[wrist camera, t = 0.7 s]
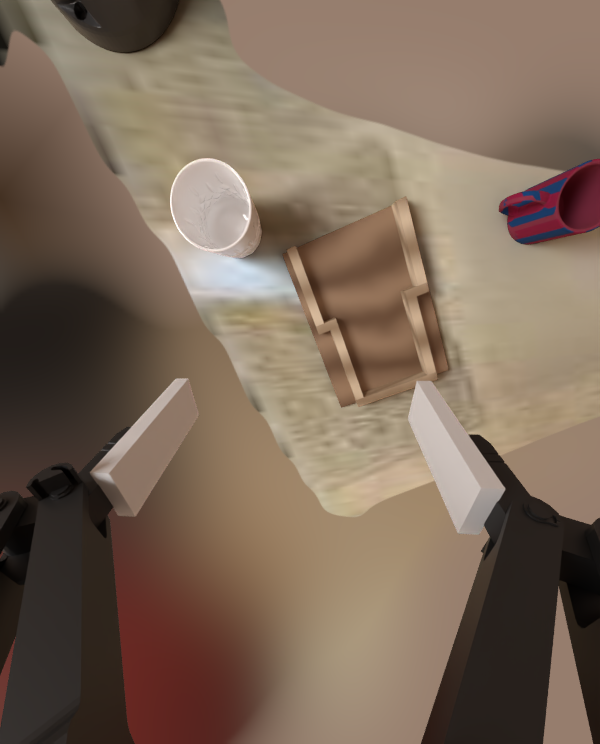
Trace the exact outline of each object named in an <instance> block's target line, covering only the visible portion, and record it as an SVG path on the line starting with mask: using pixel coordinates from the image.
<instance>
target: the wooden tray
mask: <svg viewBox="0 0 600 744" xmlns="http://www.w3.org/2000/svg"><path fill="white" fill-rule="evenodd" d="M282 255H283V258H284V260H285V263H286V266H287V268H288V271H289V273H290V276H291V279H292V281H293V284H294V286H295V289H296V292H297V294H298V297H299V299H300V302H301V305H302V307H303V310H304V312H305V315H306V317H307V320H308V323H309V325H310V328H311V330H312V333H313V336H314V338H315V341H316V343H317V346H318V349H319V351H320V354H321V356H322V359H323V362H324V364H325V367H326V369H327V372H328V374H329V377H330V380H331V382H332V385H333V387H334V390H335V393H336V395H337V398H338V400H339V403H340V406H341V407H344V406H347V405H350V404H353V403H355V402H356V403H357V405H358V407H360V406H363V405H366V404H369V403H372V402H375V401H377V400H380V399H383V398H386V397H389V396H392V395H395V394H398V393H400V392H403V391H406V390H409V389H412V388H415V386H416V382H417V381H435V380H438V377H437V374H438V373H441V372H444V371H447V370H449V369H448V365H447V361H446V357H445V353H444V348H443V344H442V340H441V336H440V332H439V328H438V324H437V320H436V316H435V312H434V307H433V303H432V299H431V295H430V291H429V287H428V283H427V279H426V275H425V271H424V266H423V262H422V258H421V254H420V250H419V246H418V242H417V238H416V234H415V230H414V225H413V221H412V217H411V213H410V209H409V205H408V201H407V198H406V197H404V198H401V199H399V200H397V201H396V202H395V203H394V204H393V205H392V206H390V207H387V208H385V209H383V210H381V211H378V212H376V213H374V214H372V215H369V216H367V217H365V218H363V219H360V220H358V221H356V222H354V223H351V224H349V225H347V226H345V227H342V228H340V229H338V230H336V231H333V232H331V233H329V234H326V235H324V236H322V237H320V238H317V239H315V240H313V241H311V242H308V243H306V244H304V245H302V246H299V247H297V248H296V246H294V247H291V248H289V249H287V252H286V253H284V254H282Z"/></svg>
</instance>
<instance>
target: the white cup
mask: <svg viewBox="0 0 600 744" xmlns="http://www.w3.org/2000/svg"><path fill="white" fill-rule="evenodd" d="M170 206H171V212H172V216H173V219H174V222H175V224H176V226H177V228H178V229H179V231H180V233H181V234H182V235H183V236H184V237H185V239H186V240H188V241H189V242H190V243H191V244H193V245H194V246H196V247H198V248H200V249H202V250H205V251H209V252H212V253H215V254H219V255H222V256H227V257H233V258H244V257H246V256H248V255H250V254H252V253H253V252H254V251H255V249H256V248H257V247H258V245H259V244H260V240H261V235H262V229H261V224H260V219H259V216H258V213H257V210H256V207H255V205H254V202H253V200H252V198H251V196H250V193H249V191H248V188H247V186H246V184H245V182H244V181H243V179H242V178H241V176H240V175H239V174H238V173H237V172H236V171H235V170H234V169H233V168H232V167H231V166H229V165H228V164H226V163H224V162H222V161H219V160H216V159H211V158H203V159H198V160H195V161H193V162H191V163H189V164H187V165H186V166H185V167H184V168H183V169H182V170H181V171H180V172H179V173H178V175H177V176H176V178H175V180H174V183H173V185H172V189H171V195H170Z"/></svg>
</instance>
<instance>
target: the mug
mask: <svg viewBox="0 0 600 744" xmlns="http://www.w3.org/2000/svg"><path fill="white" fill-rule="evenodd" d="M499 212H501V213H502V214H505V215H508V220H507V225H508V230H509V233H510V235H511V237H512V238H513V239H514V240H515V241H517V242H519V243H521V244H535V243H539V242H544V241H548V240H553V239H558V238H562V237H567V236H571V235H576V234H581V233H585V232H589V231H592V230H594V229H596V228H598V227H599V226H600V159H594V160H590V161H587V162H585V163H583V164H581V165H578V166H577V167H574V168H572V169H570V170H568V171H566V172H563V173H561V174H559V175H557V176H555V177H553V178H551V179H548V180H546V181H544V182H542V183H540V184H538V185H536V186H533V187H531V188H529V189H527V190H526V191H524V192H520V193H517V194H514V195H511V196H509V197H507V198H505V199H504V200H502V202H501V203H500V205H499Z"/></svg>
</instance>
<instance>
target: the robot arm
mask: <svg viewBox="0 0 600 744" xmlns="http://www.w3.org/2000/svg"><path fill="white" fill-rule="evenodd" d="M51 1H52V2H53V4H54V5H55V6H56V7H57V8H58V9H59V11H60V12H61V13H62V14H63V15H64V16H65V18H66V19H67V20H68V21H69V22H70V23H71V24H72V26H73V27H74V28H75V29H76V30H77V31H78V32H79V33H81V34H82V35H83V36H84V37H85V38H87V39H88V40H90V41H91V42H93V43H94V44H96V45H98V46H100V47H102V48H105V49H108V50H111V51H116V52H132V51H136V50H140V49H142V48H145V47H147V46H148V45H150V44H151V43H153V42H154V41H155V40H157V39H158V38H159V37H160V36H161V35H162V33H163V32H164V31H165V30H166V28H167V27H168V25H169V24H170V22H171V20H172V18H173V16H174V14H175V11H176V8H177V5H178V2H179V0H51ZM198 416H199V413H198V409H197V406H196V403H195V400H194V397H193V393H192V389H191V386H190V383H189V380H188V379H175V380H174V381H173V382H172V383H171V385H170V386H169V387H168V388H167V389H166V390H165V391H164V392H163V393H162V394H161V395H160V397H159V398H158V399H157V400H156V401H155V402H154V403H153V404H152V405H151V407H149V409H148V410H147V411H146V412H145V413H144V414H143V415H142V416H141V417H140V418H139V419H138V420H137V422H136V423H135V424H134V425H133V426H132V427H126V428H125V429H123V430H122V431H121V432H119V433H117V434H116V435H115V436H114V437H113V438H112V439H111V440H110V441H109V442H108V444H106V445H105V446H104V447H103V449H102V451H100V452H99V453H98V454H97V455H96V456H95V457H94V458H93V459H92V460H91V461H90V462H89V463H88V464H87V465H86V466H85V467H84V468H83V469H82V471H81V472H79V473H77V472H76V470H75V469H74V468H73V466H72V465H71V464H69V463H59V464H56V465H52V466H50V467H48V468H46V469H44V470H42V471H41V472H39V473H38V474H37V475H35V476H34V477H33V478H32V479H31V480H30V481H29V483H28V484H27V486H26V487H27V489H28V490H29V491H30V492H31V493H32V494H33V495H34V496H32V497H27V498H23V497H22V496H21V495H20V494H19V493H18V492H15V491H9V492H4V493H1V494H0V554H1V552H2V551H3V552H4V553H3V555H2V557H1V558H0V674H1V672H2V669H3V667H4V664H5V661H6V659H7V657H8V654H9V651H10V649H11V646H12V644H13V641H14V639H15V636H16V639H15V644H14V650H13V656H12V663H11V668H10V674H9V680H8V686H7V692H6V698H5V704H4V709H3V715H2V721H1V727H0V744H134V741H133V739H132V736H131V734H130V731H129V728H128V723H127V715H126V702H125V691H124V679H123V667H122V656H121V645H120V632H119V620H118V608H117V597H116V585H115V574H114V563H113V550H112V538H111V526H110V519H109V517H108V513H109V512H110V511H111V509H112V508H114V510H115V511H116V513H117V514H118V515H119V516H136V515H137V513H138V512H139V510H140V508H141V507H142V505H143V504H144V502H145V500H146V499H147V497H148V496H149V494H150V492H151V491H152V489H153V488H154V486H155V484H156V483H157V481H158V480H159V478H160V476H161V475H162V473H163V472H164V470H165V468H166V467H167V465H168V464H169V462H170V460H171V459H172V457H173V456H174V454H175V452H176V451H177V449H178V448H179V446H180V444H181V443H182V441H183V440H184V438H185V437H186V435H187V433H188V432H189V430H190V429H191V427H192V425H193V424H194V422H195V421H196V419H197V417H198ZM408 421H409V423H410V425H411V427H412V430H413V432H414V434H415V436H416V439H417V441H418V443H419V446H420V448H421V450H422V452H423V455H424V457H425V459H426V462H427V464H428V466H429V468H430V471H431V473H432V475H433V478H434V480H435V482H436V484H437V487H438V489H439V491H440V493H441V496H442V498H443V500H444V503H445V505H446V507H447V509H448V512H449V514H450V516H451V519H452V521H453V523H454V525H455V528H456V530H457V532H458V533H459V534H480V532H481V530H482V529H483V527H484V526H485V528H486V530H487V532H488V534H489V536H490V538H489V539H488V541H487V542H486V544H485V545H484V547H483V549H482V550H481V552H483V556H482V559H481V562H480V565H479V568H478V571H477V574H476V577H475V580H474V583H473V586H472V589H471V592H470V595H469V598H468V601H467V604H466V608H465V611H464V614H463V617H462V620H461V623H460V626H459V629H458V632H457V635H456V638H455V641H454V644H453V647H452V650H451V654H450V656H449V660H448V662H447V666H446V669H445V672H444V675H443V678H442V681H441V684H440V687H439V690H438V693H437V696H436V699H435V702H434V705H433V709H432V711H431V715H430V717H429V721H428V724H427V727H426V730H425V733H424V736H423V739H422V742H421V744H543V736H544V726H545V717H546V707H547V696H548V687H549V677H550V666H551V656H552V646H553V635H554V626H555V616H556V606H557V596H558V586H559V589H560V593H561V598H562V603H563V607H564V612H565V616H566V621H567V625H568V630H569V634H570V639H571V644H572V648H573V653H574V657H575V662H576V667H577V671H578V676H579V680H580V685H581V689H582V694H583V698H584V703H585V708H586V712H587V717H588V721H589V726H590V731H591V735H592V740H593V744H600V518H598V519H597V520H596V521H595V522H594V523H593V524H592V525H589V524H586V523H583V522H579V521H576V520H572V519H569V518H566V517H563V516H560V515H559V514H558V513H557V512H556V511H555V510H554V509H553V508H552V507H551V506H550V505H548V504H546V503H545V502H543V501H542V500H540V499H537V498H535V497H532V496H530V495H529V493H528V492H527V491H526V489H525V488H524V487H523V485H522V484H521V483H520V481H519V480H518V479H517V478H516V476H515V475H514V474H513V472H512V471H511V470H510V469H509V467H508V466H507V465H506V464H505V463H504V461H503V459H502V458H501V457H500V455H498V453H497V451H496V450H495V449H494V447H493V446H492V445H491V443H489V442H488V441H487V440H485V439H484V438H483V437H481V436H480V435H468V434H467V432H466V431H465V429H464V428H463V426H462V425H461V424H460V422H459V421H458V419H457V418H456V416H455V415H454V413H453V412H452V410H451V409H450V408H449V406H448V405H447V403H446V402H445V400H444V399H443V397H442V396H441V394H440V393H439V392H438V390H437V389H436V387H435V386H434V384H433V383H432V381H417V382H416V386H415V391H414V395H413V399H412V404H411V408H410V412H409V417H408Z"/></svg>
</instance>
